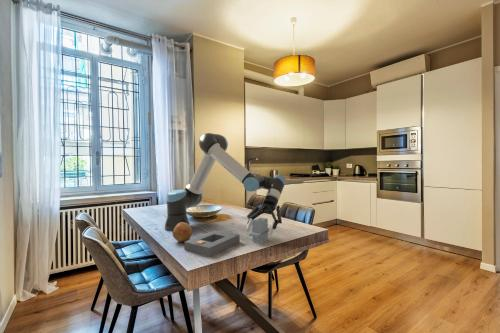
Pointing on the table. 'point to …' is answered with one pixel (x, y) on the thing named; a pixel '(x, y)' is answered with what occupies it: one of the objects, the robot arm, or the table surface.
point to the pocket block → (212, 243)
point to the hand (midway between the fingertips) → (258, 232)
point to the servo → (260, 230)
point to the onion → (182, 232)
